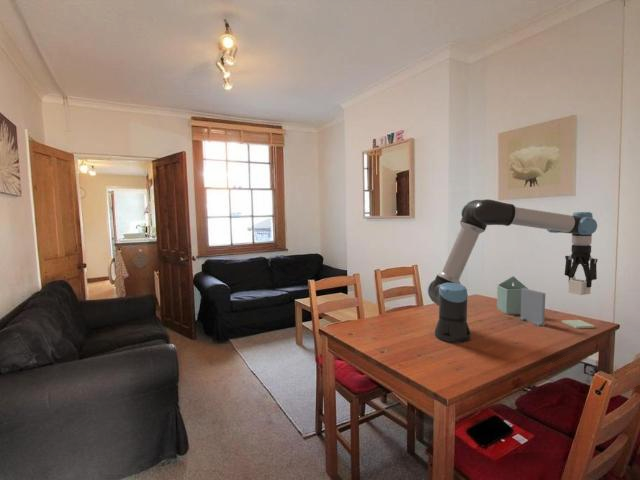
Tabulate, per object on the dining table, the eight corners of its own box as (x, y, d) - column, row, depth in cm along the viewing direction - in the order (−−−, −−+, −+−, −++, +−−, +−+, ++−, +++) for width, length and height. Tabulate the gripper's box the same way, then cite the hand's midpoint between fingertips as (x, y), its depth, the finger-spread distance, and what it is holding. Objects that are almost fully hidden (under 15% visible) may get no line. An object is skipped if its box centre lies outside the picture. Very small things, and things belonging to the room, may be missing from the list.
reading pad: (576, 328, 162) (576, 326, 162) (561, 322, 171) (562, 320, 171) (594, 327, 163) (594, 325, 163) (579, 321, 172) (579, 319, 172)
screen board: (546, 325, 168) (548, 292, 166) (539, 326, 166) (540, 293, 165) (525, 318, 179) (526, 287, 178) (517, 319, 178) (518, 288, 176)
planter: (491, 311, 193) (491, 276, 191) (497, 308, 198) (497, 274, 196) (523, 317, 180) (524, 280, 179) (528, 314, 185) (529, 278, 184)
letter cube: (581, 295, 162) (581, 282, 161) (568, 292, 168) (569, 279, 167) (590, 293, 164) (590, 281, 163) (577, 291, 169) (578, 278, 169)
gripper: (608, 245, 156) (606, 296, 158) (567, 242, 174) (565, 287, 176) (597, 246, 154) (594, 297, 156) (556, 243, 172) (554, 288, 174)
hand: (579, 292), depth 166 cm, fingers closed on letter cube, 6 cm apart
